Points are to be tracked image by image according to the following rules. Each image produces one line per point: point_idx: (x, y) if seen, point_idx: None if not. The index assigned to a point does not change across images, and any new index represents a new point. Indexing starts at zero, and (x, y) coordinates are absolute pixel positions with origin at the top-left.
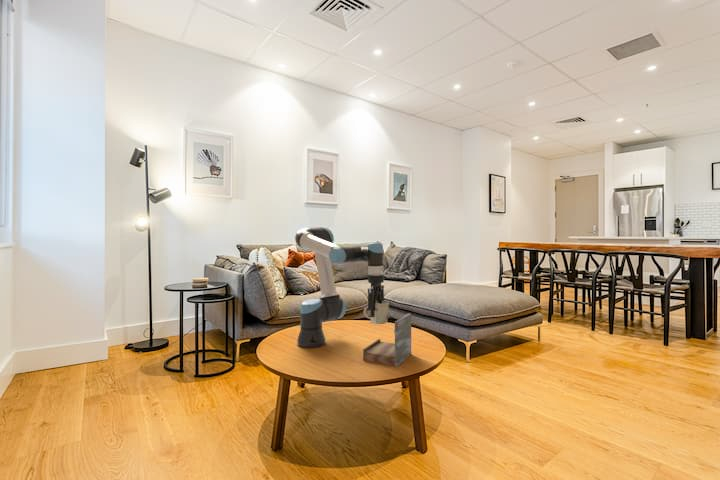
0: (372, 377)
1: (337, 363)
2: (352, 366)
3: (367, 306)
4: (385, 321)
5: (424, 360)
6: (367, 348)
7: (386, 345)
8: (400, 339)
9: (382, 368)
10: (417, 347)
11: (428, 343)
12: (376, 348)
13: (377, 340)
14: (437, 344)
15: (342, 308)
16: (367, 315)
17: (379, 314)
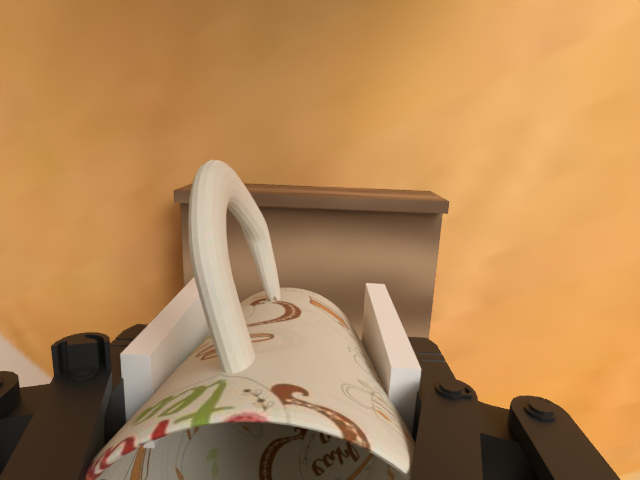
0: (15, 319)
1: (72, 54)
2: (81, 165)
3: (192, 267)
4: (264, 431)
5: None
6: None
7: (369, 282)
8: None
9: (141, 323)
10: (536, 390)
11: (631, 427)
12: (282, 244)
13: (406, 206)
14: (624, 472)
15: None
16: (247, 218)
17: (170, 454)
